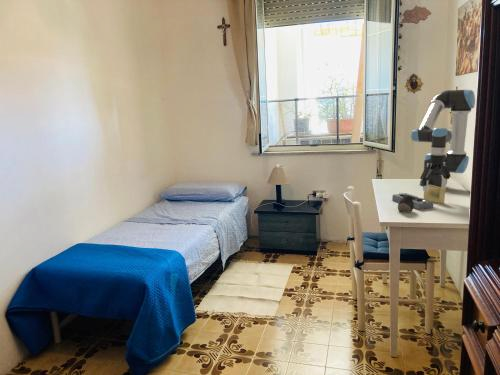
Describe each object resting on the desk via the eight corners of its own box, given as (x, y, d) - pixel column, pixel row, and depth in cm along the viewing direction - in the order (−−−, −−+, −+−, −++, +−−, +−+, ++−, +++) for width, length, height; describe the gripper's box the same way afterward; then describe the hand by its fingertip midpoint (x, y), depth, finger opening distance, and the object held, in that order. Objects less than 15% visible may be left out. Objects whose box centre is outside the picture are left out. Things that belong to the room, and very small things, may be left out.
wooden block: (428, 198, 235) (429, 184, 233) (444, 203, 224) (445, 188, 222) (423, 199, 234) (424, 184, 232) (438, 204, 223) (440, 189, 221)
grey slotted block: (405, 198, 235) (406, 191, 235) (433, 207, 215) (433, 200, 214) (392, 200, 232) (392, 193, 231) (418, 209, 212) (419, 202, 211)
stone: (400, 214, 212) (394, 202, 207) (403, 204, 216) (397, 192, 211) (414, 213, 207) (408, 202, 202) (417, 203, 211) (411, 191, 206)
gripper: (425, 156, 215) (422, 193, 220) (459, 154, 223) (455, 189, 227) (415, 154, 222) (412, 190, 226) (449, 152, 230) (445, 187, 234)
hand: (434, 190), depth 227 cm, fingers open, 13 cm apart
